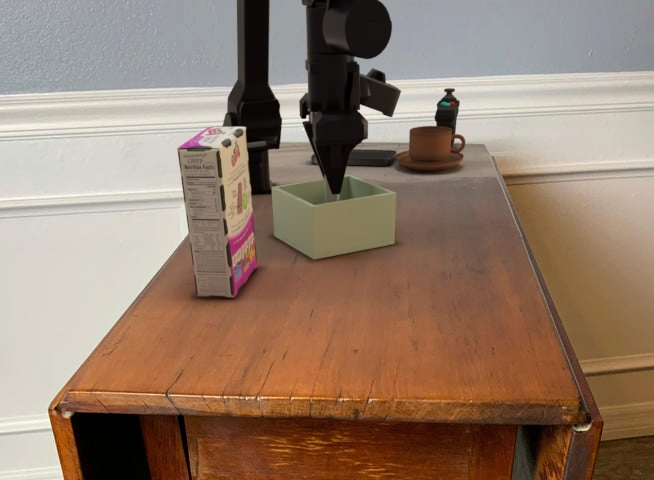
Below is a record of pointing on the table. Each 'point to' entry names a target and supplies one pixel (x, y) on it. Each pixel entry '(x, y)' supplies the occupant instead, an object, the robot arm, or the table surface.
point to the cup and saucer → (431, 149)
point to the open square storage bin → (334, 217)
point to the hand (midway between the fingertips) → (332, 187)
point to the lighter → (330, 194)
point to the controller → (447, 111)
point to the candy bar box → (219, 210)
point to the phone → (368, 157)
